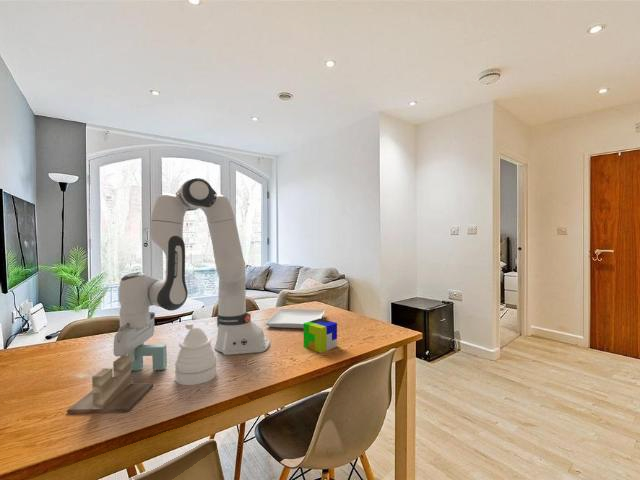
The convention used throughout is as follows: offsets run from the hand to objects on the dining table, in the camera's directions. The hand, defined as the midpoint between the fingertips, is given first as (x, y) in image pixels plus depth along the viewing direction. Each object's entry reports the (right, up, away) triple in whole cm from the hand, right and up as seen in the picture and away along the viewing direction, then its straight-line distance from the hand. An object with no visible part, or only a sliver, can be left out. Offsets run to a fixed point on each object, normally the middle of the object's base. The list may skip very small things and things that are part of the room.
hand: (135, 358), depth 111 cm
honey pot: (+23, -5, -4) cm, 23 cm away
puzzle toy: (+65, -4, +23) cm, 69 cm away
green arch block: (+4, -4, 0) cm, 5 cm away
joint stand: (+4, -5, -19) cm, 20 cm away
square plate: (+52, -3, +57) cm, 78 cm away
